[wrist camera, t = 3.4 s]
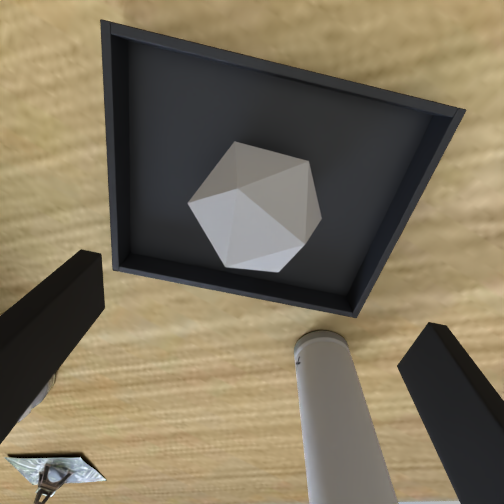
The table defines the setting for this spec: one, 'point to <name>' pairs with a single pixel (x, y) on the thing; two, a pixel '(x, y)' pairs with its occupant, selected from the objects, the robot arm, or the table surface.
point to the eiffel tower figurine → (54, 473)
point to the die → (257, 207)
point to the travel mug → (337, 426)
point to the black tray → (265, 137)
